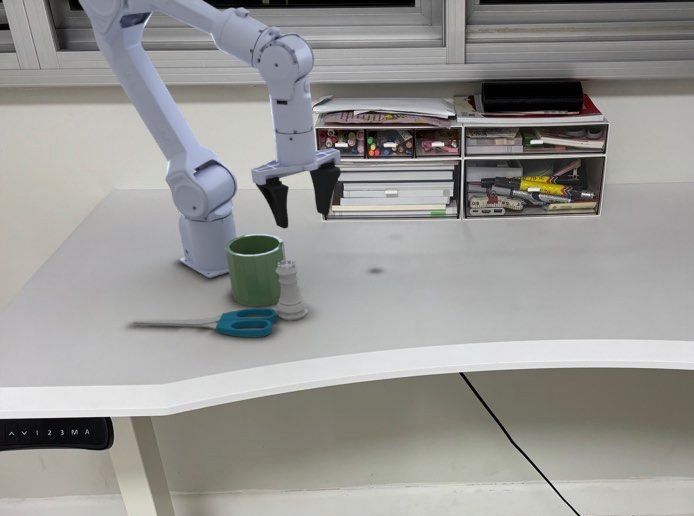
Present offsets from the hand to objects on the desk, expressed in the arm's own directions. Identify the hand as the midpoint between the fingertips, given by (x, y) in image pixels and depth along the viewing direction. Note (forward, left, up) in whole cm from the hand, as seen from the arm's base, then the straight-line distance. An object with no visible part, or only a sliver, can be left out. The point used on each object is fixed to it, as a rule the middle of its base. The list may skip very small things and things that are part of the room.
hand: (303, 219), depth 121 cm
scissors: (+3, -21, -9) cm, 23 cm away
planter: (0, -9, -9) cm, 13 cm away
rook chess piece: (+9, -10, -10) cm, 16 cm away
